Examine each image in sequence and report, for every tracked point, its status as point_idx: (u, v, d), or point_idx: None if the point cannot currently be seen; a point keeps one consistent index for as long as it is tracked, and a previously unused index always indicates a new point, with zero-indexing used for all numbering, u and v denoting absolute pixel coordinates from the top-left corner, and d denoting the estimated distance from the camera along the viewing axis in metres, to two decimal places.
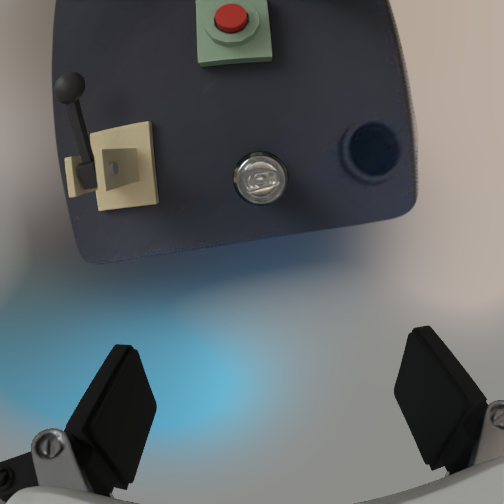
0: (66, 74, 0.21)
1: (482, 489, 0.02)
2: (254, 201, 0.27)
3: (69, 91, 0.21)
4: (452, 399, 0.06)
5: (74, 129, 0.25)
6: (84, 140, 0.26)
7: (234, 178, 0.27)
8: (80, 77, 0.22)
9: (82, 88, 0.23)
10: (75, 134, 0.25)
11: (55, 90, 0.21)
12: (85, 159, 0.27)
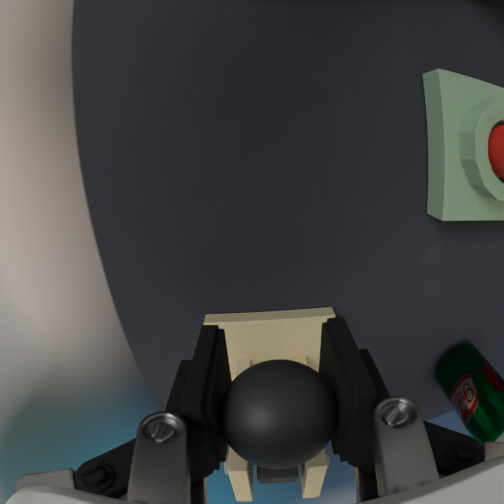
0: (296, 418, 0.06)
1: (482, 489, 0.02)
2: None
3: (310, 458, 0.07)
4: (342, 388, 0.07)
5: None
6: None
7: None
8: (335, 402, 0.07)
9: None
10: None
11: (253, 461, 0.07)
12: None
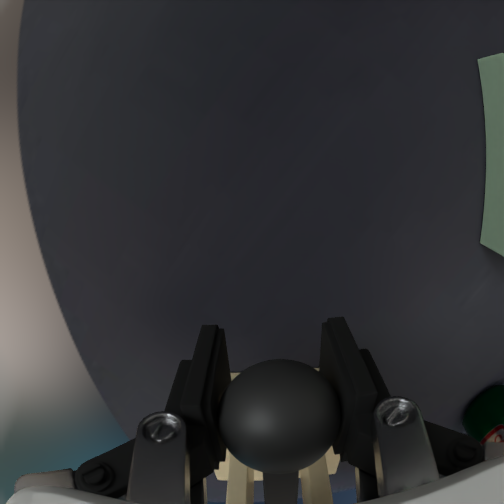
0: (295, 384, 0.07)
1: (482, 489, 0.02)
2: None
3: (315, 456, 0.06)
4: (343, 388, 0.07)
5: None
6: None
7: None
8: (335, 393, 0.07)
9: None
10: None
11: (249, 445, 0.06)
12: None
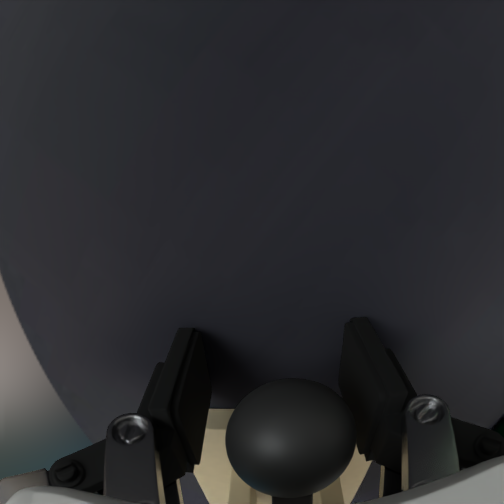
0: (308, 392, 0.06)
1: (482, 489, 0.02)
2: None
3: (332, 470, 0.05)
4: (372, 388, 0.07)
5: None
6: None
7: None
8: None
9: None
10: None
11: (260, 455, 0.05)
12: None
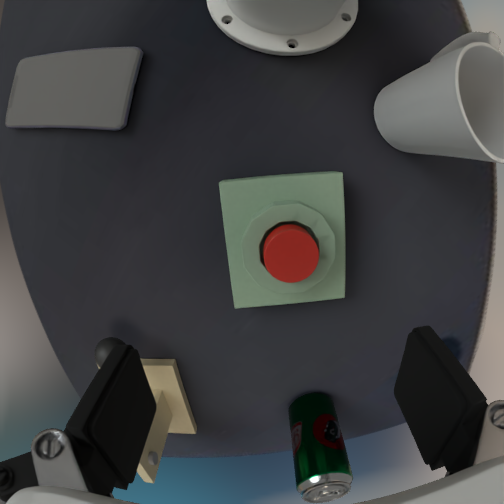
0: (111, 339, 0.24)
1: (482, 489, 0.02)
2: (317, 502, 0.20)
3: None
4: (452, 399, 0.06)
5: None
6: None
7: (298, 489, 0.20)
8: None
9: None
10: None
11: (97, 353, 0.23)
12: None
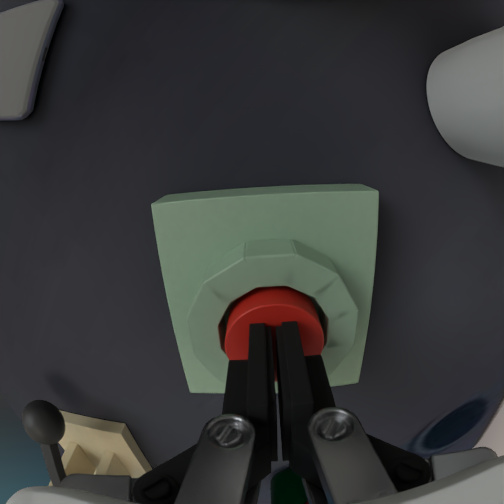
0: (38, 406, 0.14)
1: (482, 489, 0.02)
2: None
3: (41, 434, 0.13)
4: (281, 395, 0.07)
5: (51, 475, 0.13)
6: None
7: None
8: (57, 418, 0.15)
9: (60, 434, 0.14)
10: (52, 481, 0.13)
11: (23, 421, 0.13)
12: None
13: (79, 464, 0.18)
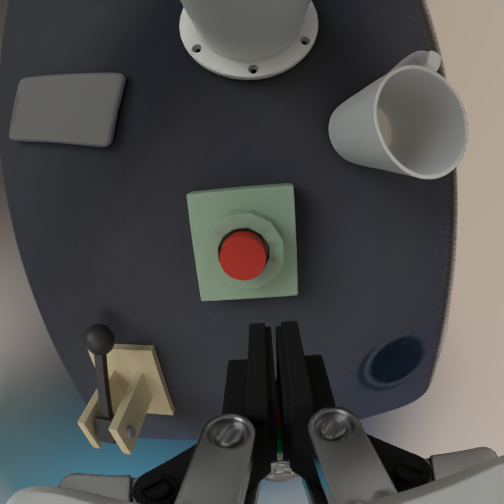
0: (98, 325, 0.28)
1: (482, 489, 0.02)
2: (274, 481, 0.24)
3: (99, 343, 0.26)
4: (281, 395, 0.07)
5: (98, 381, 0.26)
6: (106, 395, 0.26)
7: None
8: (111, 334, 0.28)
9: (111, 345, 0.28)
10: (98, 386, 0.26)
11: (86, 337, 0.27)
12: (104, 413, 0.26)
13: (114, 387, 0.32)
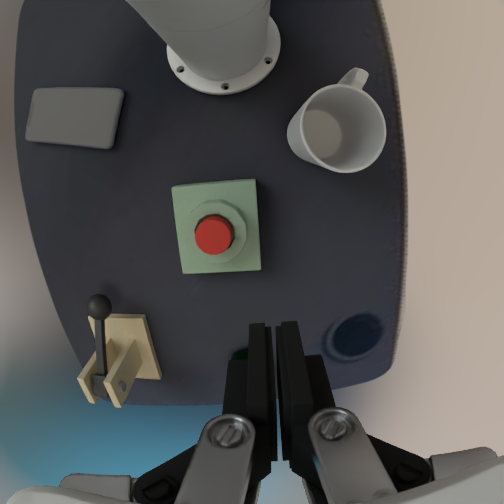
0: (99, 295, 0.34)
1: (482, 489, 0.02)
2: None
3: (99, 309, 0.33)
4: (281, 395, 0.07)
5: (96, 343, 0.33)
6: (103, 354, 0.33)
7: None
8: (109, 302, 0.34)
9: (109, 312, 0.34)
10: (96, 347, 0.33)
11: (88, 304, 0.33)
12: (100, 371, 0.32)
13: (110, 351, 0.38)
